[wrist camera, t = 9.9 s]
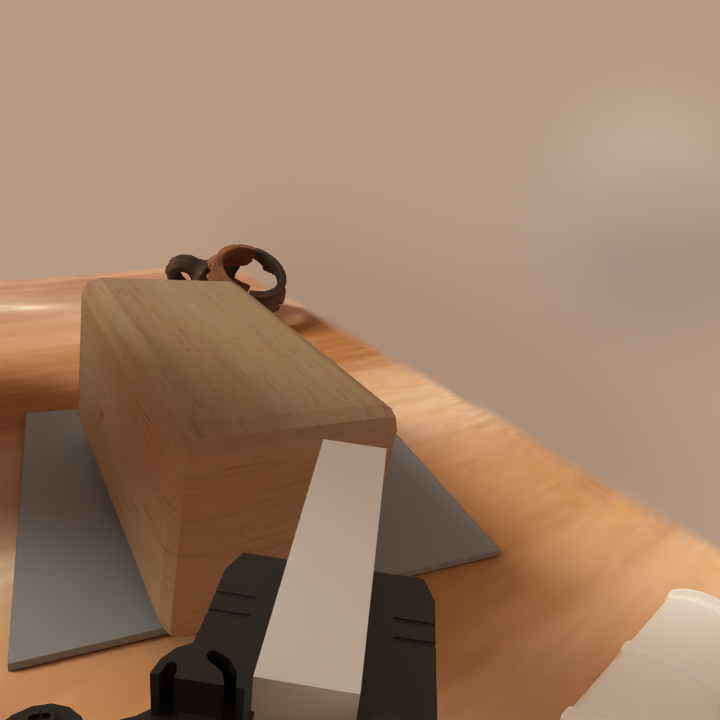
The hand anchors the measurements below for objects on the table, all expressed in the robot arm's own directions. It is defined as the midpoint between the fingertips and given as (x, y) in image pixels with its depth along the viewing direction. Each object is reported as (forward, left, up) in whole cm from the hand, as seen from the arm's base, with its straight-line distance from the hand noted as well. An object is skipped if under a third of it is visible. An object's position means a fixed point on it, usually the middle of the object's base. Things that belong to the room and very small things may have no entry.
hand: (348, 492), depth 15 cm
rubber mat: (-21, +3, -14) cm, 25 cm away
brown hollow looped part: (-50, +9, -14) cm, 53 cm away
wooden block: (-9, +2, -8) cm, 12 cm away
